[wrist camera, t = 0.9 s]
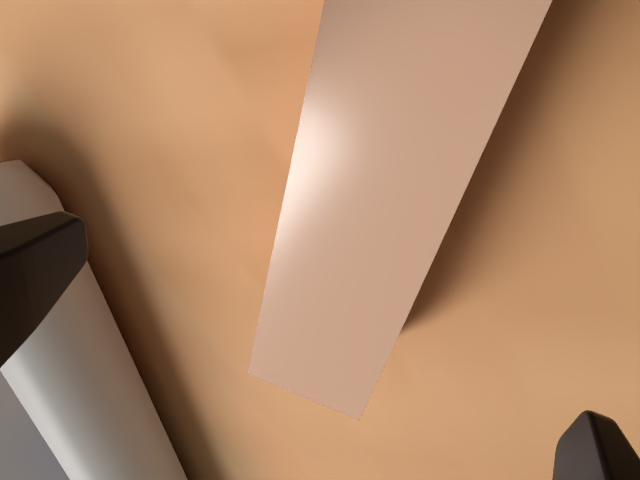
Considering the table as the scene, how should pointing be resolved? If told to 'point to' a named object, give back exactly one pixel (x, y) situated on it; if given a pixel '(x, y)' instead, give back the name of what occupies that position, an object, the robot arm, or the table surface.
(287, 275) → the beige long block
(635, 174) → the table surface
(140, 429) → the tube
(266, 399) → the table surface
